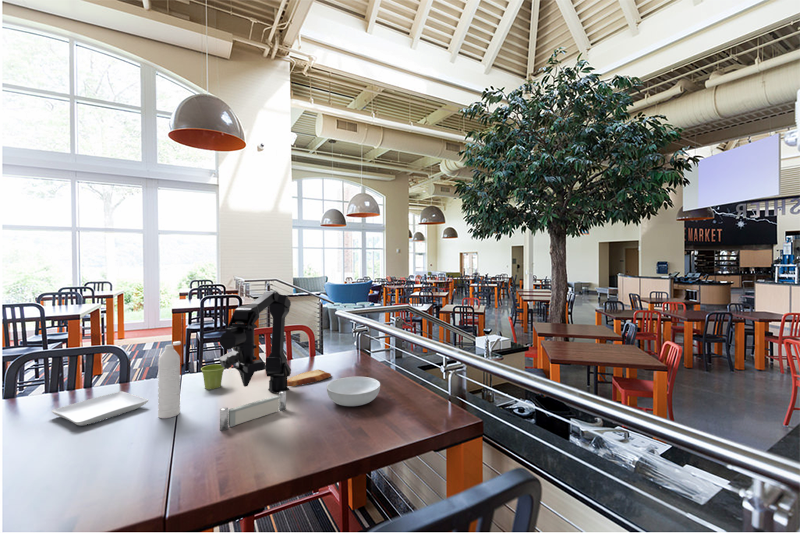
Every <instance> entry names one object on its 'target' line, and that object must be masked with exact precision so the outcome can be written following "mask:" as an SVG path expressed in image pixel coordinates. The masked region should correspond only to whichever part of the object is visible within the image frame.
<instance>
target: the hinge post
mask: <svg viewBox="0 0 800 533" xmlns="http://www.w3.org/2000/svg"><path fill="white" fill-rule="evenodd" d="M278 396H279V410H280V411H279V412H284V411H283V410H285V409H286V410H287V390H286V391H281V392H279V393H278ZM286 410H285V411H286Z"/></svg>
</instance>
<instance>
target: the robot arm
mask: <svg viewBox="0 0 800 533" xmlns="http://www.w3.org/2000/svg"><path fill="white" fill-rule="evenodd" d="M291 303H292V302H291V300H290V299H289V297H287V296H286V295H283V294H280V293H279V292H278V291H276V290H267V291H264V292H263V294H262V295H260V296H259V297H258V298H256V299H254V300H253V301H252V302H251V303H249V304H244V305H241V306H238V307H237V308H235V310H234V311H233V313H232V316H231V318H230V320H229V323H228V325H227V328H225V331H224V333H222V334H221V335H220V338H219V344H220V346H221V348H223V349H224V350H232V349H233V350H232V351H230V352H227V353H226V354H224V355H221V356H220V357H219V358H218V361H219V363H220V365H221V366H222V367H224V370H225V369H229V368H231V366H233V368H234V369H235V370H237V371H238V373H239V376H240V378H241V381H242V386H243V387H248V386H249V384H250V383H251V379H252V378H253V376H254V375H255V373H256V372H260V371H264V370H265V372H266V377H270V378H269V381H268V389H267V390H268V391H270V392H271V393H273V394H279V392H281V391H286V392H287V391H289V390H290V387H288V386H287V380H288V377H290V376H291V373H292V369H291V367H290V366H289V364H288V357H287V356H286V354H285V352H284V347H285V346H284V343H285V326H286V325H285V324H286V318H287V315H288V314H289V313H290V308H291V305H292V304H291ZM267 308H269V309H268V311H269V314H270V315H271V317H272V327H271V328H272V330H271V331H272V332H271V350H270V351H271V352H270V354H269V355H268V356H266V358H265V362H264V361H262V360H260V359H257V356H256V355H255V349H257V347H258V346H257V344H255V329H257V328H258V325H257V324H255V323H256V322H257V321H258V320H259V318H260V314H261V313H262V312H263V311H264V310H266V309H267ZM234 365H235V366H234Z"/></svg>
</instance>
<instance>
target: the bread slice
mask: <svg viewBox="0 0 800 533" xmlns="http://www.w3.org/2000/svg"><path fill="white" fill-rule="evenodd" d="M331 376H332V373H329V372H326V371H324V370H322V369H314V370H308V371H305V372H302V373H299V374H296V375H293V376H292V377H290V378H287V387H288V386H293V387H297V386H296V385H300V386H303V385H302V384H304V385H308V384H307V383H309V384H314V383H317V381H318V382H321V381H324V380H327V379H330V378H331ZM329 377H330V378H329ZM313 382H314V383H313Z"/></svg>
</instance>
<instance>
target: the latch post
mask: <svg viewBox="0 0 800 533" xmlns="http://www.w3.org/2000/svg"><path fill="white" fill-rule="evenodd" d="M228 409H229V408H228V407H226V406H225V407H222V408H219V431H226V430H228V429H229V425H228Z"/></svg>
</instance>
